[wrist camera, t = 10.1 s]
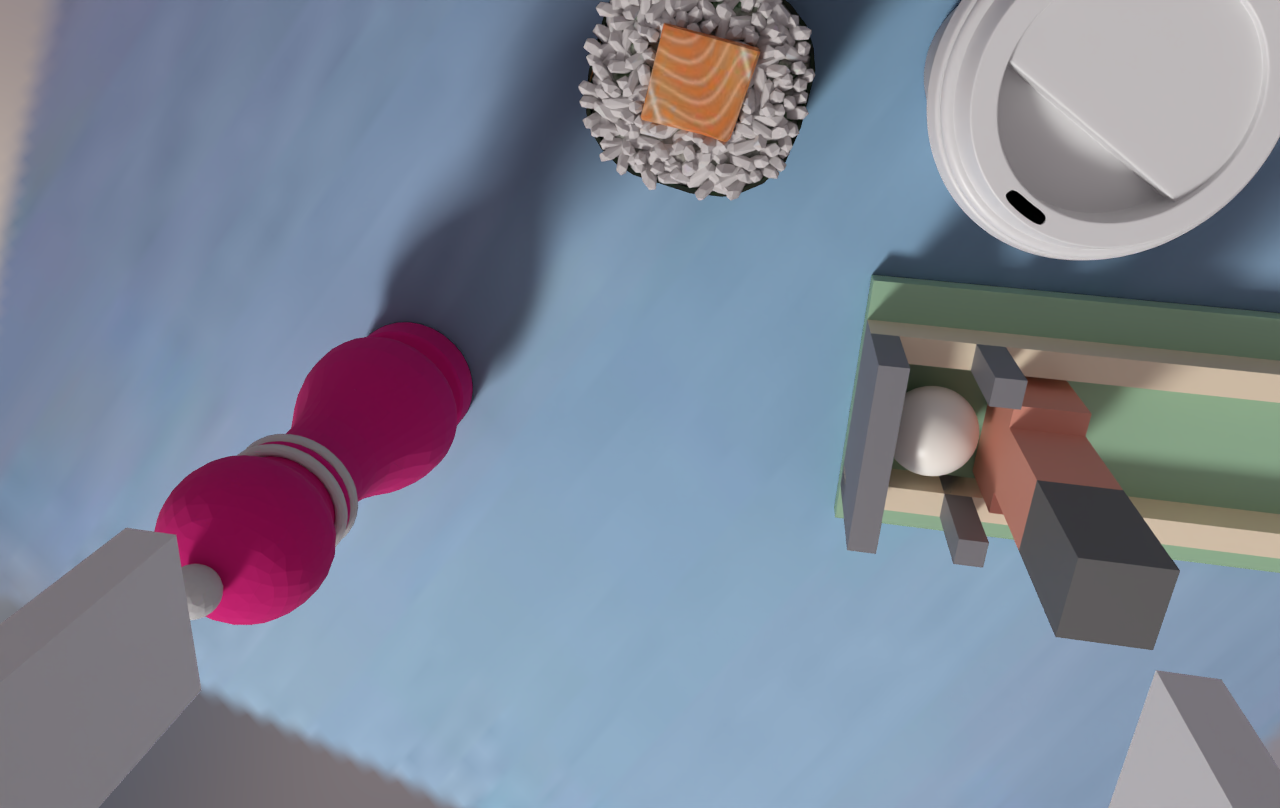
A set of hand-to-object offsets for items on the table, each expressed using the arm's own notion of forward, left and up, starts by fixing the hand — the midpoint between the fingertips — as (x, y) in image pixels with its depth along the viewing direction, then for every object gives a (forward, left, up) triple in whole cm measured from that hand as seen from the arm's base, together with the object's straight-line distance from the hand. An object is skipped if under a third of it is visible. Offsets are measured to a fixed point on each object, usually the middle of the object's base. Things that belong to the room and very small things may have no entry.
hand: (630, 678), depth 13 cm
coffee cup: (-7, +10, -32) cm, 34 cm away
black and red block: (+8, +13, -30) cm, 34 cm away
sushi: (-6, -2, -32) cm, 33 cm away
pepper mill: (+10, -16, -32) cm, 37 cm away
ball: (+8, +9, -29) cm, 31 cm away
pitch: (+8, +17, -32) cm, 37 cm away
